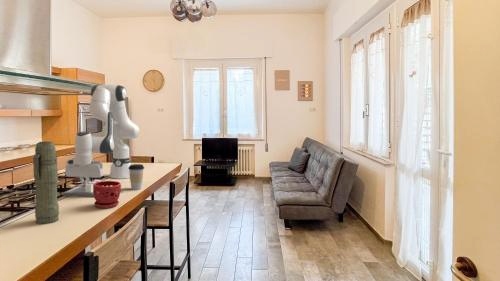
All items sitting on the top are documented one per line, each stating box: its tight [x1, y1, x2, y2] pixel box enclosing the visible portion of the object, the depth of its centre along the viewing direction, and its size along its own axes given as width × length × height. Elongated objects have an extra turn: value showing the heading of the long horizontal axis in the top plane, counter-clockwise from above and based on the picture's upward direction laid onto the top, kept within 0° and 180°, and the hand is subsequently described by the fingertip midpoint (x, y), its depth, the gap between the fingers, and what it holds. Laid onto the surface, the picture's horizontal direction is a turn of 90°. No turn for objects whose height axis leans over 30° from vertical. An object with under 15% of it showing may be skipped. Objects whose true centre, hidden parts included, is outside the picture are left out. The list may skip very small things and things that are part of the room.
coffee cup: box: [128, 163, 145, 191], centre depth 209 cm, size 9×9×15 cm
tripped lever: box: [84, 183, 93, 193], centre depth 190 cm, size 3×3×4 cm
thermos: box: [32, 141, 60, 225], centre depth 146 cm, size 9×12×35 cm
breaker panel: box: [62, 185, 98, 198], centre depth 196 cm, size 16×18×2 cm
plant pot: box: [93, 180, 122, 209], centre depth 172 cm, size 13×13×12 cm
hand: (84, 184), depth 191 cm, fingers closed
